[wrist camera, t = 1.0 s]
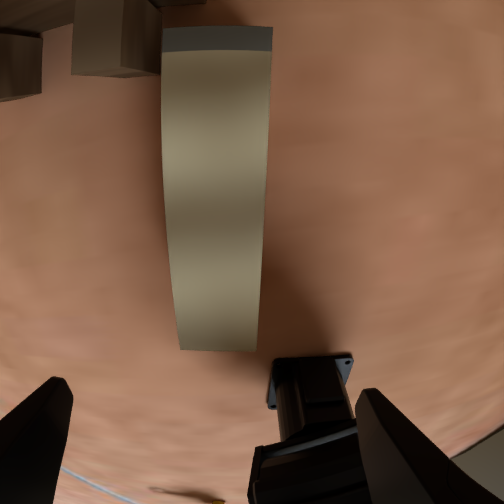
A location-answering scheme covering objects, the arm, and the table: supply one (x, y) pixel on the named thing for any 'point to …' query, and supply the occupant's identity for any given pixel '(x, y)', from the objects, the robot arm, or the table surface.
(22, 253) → the table surface
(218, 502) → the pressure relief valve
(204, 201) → the rail
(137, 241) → the table surface
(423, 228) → the table surface
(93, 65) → the headboard
